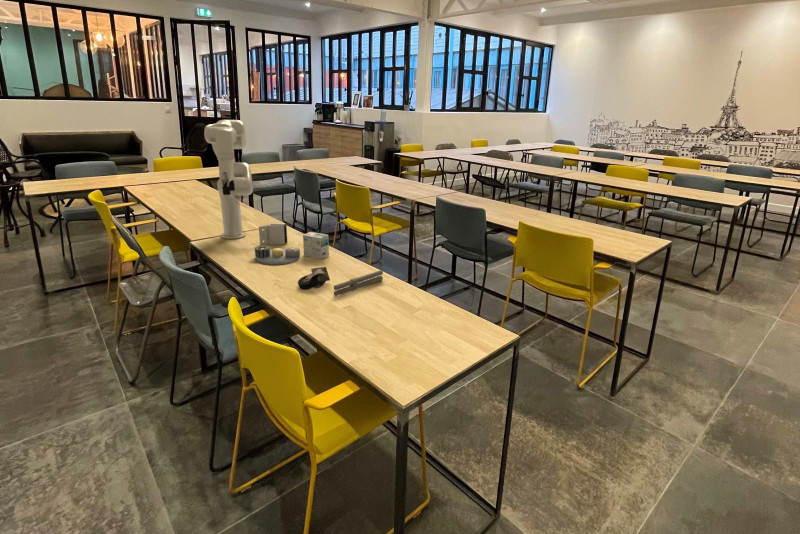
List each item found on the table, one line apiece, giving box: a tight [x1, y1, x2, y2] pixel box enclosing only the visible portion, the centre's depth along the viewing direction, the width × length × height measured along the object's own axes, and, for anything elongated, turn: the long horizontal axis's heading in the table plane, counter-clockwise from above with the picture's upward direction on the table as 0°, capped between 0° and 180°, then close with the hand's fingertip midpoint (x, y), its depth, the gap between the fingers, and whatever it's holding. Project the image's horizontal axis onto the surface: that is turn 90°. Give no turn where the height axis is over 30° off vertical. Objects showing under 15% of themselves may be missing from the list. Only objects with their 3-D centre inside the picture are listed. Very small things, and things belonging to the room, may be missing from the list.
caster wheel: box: [297, 266, 331, 291], centre depth 189 cm, size 7×11×10 cm
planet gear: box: [254, 245, 271, 258], centre depth 218 cm, size 7×7×4 cm
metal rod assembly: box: [333, 269, 384, 297], centre depth 189 cm, size 26×3×5 cm, turn 137°
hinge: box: [258, 223, 288, 246], centre depth 239 cm, size 14×5×10 cm, turn 106°
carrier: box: [255, 247, 301, 266], centre depth 219 cm, size 20×20×4 cm
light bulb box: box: [302, 231, 330, 260], centre depth 223 cm, size 11×7×11 cm, turn 65°
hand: (229, 192), depth 220 cm, fingers open, 9 cm apart
